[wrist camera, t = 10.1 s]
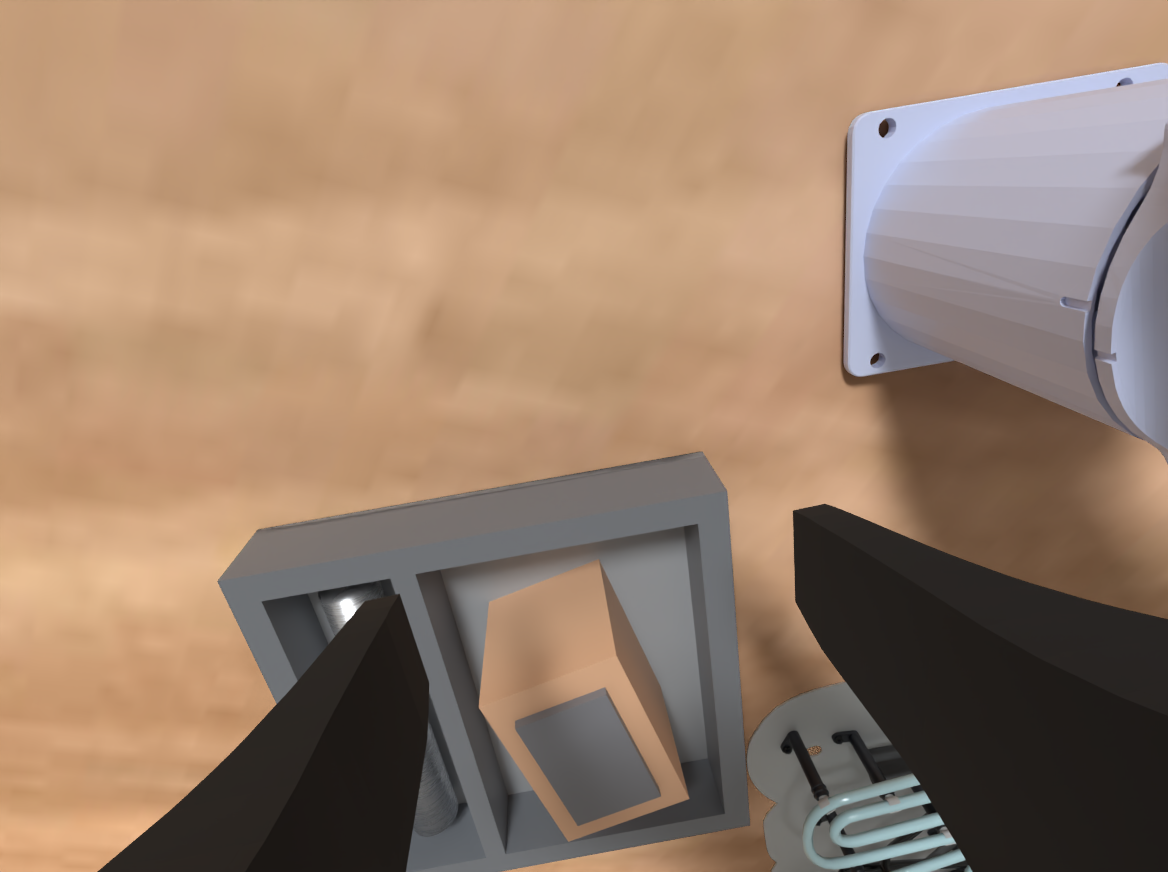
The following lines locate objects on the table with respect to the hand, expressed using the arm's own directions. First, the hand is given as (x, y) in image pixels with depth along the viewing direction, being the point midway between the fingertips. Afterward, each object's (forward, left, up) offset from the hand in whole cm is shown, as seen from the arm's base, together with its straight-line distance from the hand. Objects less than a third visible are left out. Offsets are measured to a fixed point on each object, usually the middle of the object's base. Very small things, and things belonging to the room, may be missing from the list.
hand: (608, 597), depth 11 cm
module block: (+1, +10, -10) cm, 14 cm away
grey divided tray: (+4, +11, -10) cm, 15 cm away
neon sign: (-20, +25, -11) cm, 34 cm away
